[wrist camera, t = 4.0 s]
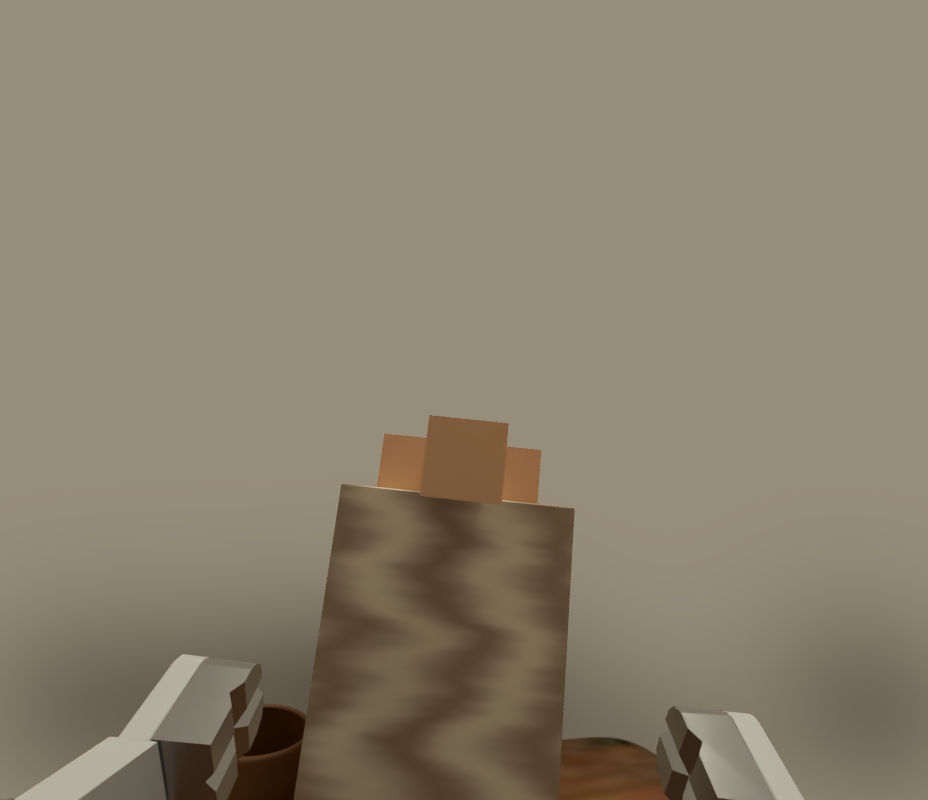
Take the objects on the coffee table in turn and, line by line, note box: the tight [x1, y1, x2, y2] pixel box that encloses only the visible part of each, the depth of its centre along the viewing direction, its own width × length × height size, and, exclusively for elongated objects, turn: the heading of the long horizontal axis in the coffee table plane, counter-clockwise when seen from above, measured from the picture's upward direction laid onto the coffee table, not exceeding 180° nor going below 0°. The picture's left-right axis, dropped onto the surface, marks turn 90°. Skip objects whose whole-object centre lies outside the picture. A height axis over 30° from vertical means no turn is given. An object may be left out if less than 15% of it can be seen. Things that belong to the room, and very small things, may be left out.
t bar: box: [377, 415, 541, 505], centre depth 29 cm, size 12×23×4 cm, turn 1°
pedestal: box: [294, 484, 574, 800], centre depth 31 cm, size 14×12×26 cm
